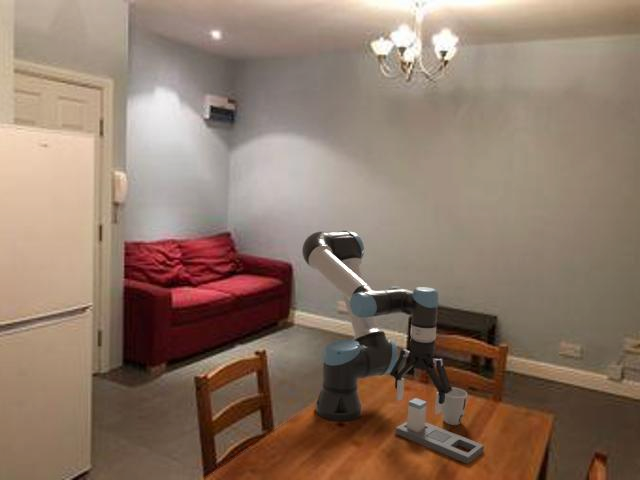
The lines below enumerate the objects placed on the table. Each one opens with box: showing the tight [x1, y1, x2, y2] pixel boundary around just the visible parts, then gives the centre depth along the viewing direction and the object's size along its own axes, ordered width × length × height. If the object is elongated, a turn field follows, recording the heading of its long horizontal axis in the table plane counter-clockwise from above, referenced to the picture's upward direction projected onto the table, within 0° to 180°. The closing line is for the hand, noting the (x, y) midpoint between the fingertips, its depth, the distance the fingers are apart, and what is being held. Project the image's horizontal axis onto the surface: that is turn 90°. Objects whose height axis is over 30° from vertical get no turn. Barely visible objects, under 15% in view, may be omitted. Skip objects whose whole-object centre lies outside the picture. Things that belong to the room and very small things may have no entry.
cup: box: [441, 386, 468, 426], centre depth 179 cm, size 8×8×10 cm
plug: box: [406, 397, 428, 433], centre depth 169 cm, size 4×4×10 cm
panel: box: [395, 421, 485, 465], centre depth 165 cm, size 24×10×2 cm, turn 49°
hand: (418, 406), depth 169 cm, fingers open, 13 cm apart
